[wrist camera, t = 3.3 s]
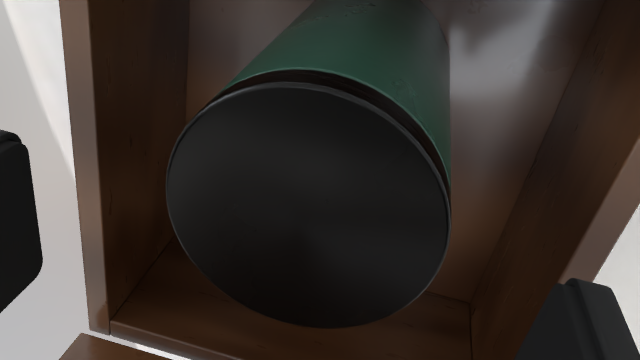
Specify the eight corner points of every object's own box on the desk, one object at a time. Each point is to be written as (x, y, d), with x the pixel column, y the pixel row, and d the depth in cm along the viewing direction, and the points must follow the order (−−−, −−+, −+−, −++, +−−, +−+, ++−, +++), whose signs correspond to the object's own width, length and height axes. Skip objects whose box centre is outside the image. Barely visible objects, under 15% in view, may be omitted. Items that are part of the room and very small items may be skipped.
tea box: (183, -210, 16) (33, -257, 10) (678, -114, 15) (825, -105, 9) (172, 223, 25) (89, 330, 19) (481, 308, 23) (492, 450, 18)
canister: (300, -36, 17) (165, 49, 9) (472, 2, 16) (496, 128, 8) (278, 120, 20) (161, 290, 12) (424, 156, 19) (406, 360, 11)
